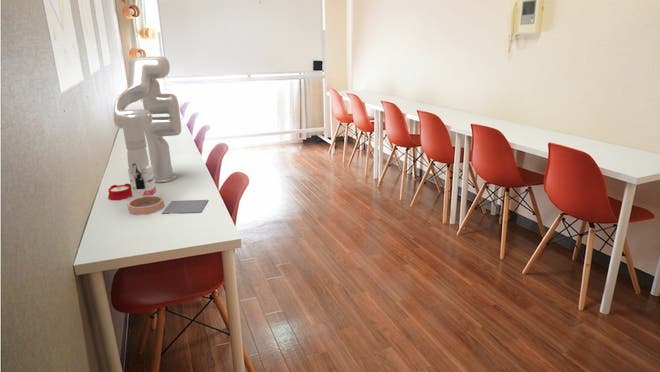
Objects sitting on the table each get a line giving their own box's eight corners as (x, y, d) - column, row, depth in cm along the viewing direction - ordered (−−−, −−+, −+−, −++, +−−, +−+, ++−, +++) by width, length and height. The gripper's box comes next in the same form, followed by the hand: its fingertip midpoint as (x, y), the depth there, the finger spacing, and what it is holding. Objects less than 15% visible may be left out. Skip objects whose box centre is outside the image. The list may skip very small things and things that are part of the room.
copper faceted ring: (136, 202, 191) (135, 196, 190) (167, 201, 192) (166, 195, 191) (123, 215, 179) (122, 208, 178) (157, 213, 179) (156, 207, 178)
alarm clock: (105, 195, 192) (107, 178, 204) (108, 206, 195) (110, 189, 207) (131, 192, 195) (131, 175, 207) (133, 203, 198) (134, 186, 210)
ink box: (157, 191, 186) (152, 164, 182) (153, 195, 182) (148, 168, 177) (136, 191, 186) (131, 165, 182) (131, 196, 181) (126, 169, 177)
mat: (171, 201, 192) (171, 200, 192) (208, 200, 193) (208, 199, 193) (161, 214, 179) (161, 213, 179) (201, 212, 179) (200, 211, 179)
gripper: (134, 139, 184) (141, 179, 191) (117, 150, 168) (126, 194, 175) (152, 138, 184) (159, 179, 191) (137, 149, 169) (145, 193, 175)
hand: (143, 186), depth 183 cm, fingers closed on ink box, 5 cm apart
